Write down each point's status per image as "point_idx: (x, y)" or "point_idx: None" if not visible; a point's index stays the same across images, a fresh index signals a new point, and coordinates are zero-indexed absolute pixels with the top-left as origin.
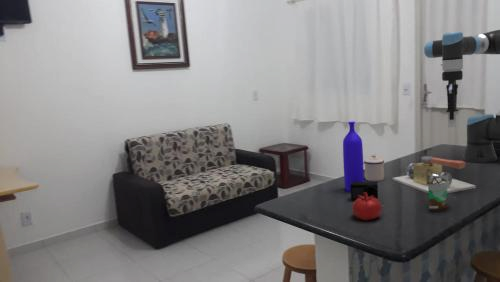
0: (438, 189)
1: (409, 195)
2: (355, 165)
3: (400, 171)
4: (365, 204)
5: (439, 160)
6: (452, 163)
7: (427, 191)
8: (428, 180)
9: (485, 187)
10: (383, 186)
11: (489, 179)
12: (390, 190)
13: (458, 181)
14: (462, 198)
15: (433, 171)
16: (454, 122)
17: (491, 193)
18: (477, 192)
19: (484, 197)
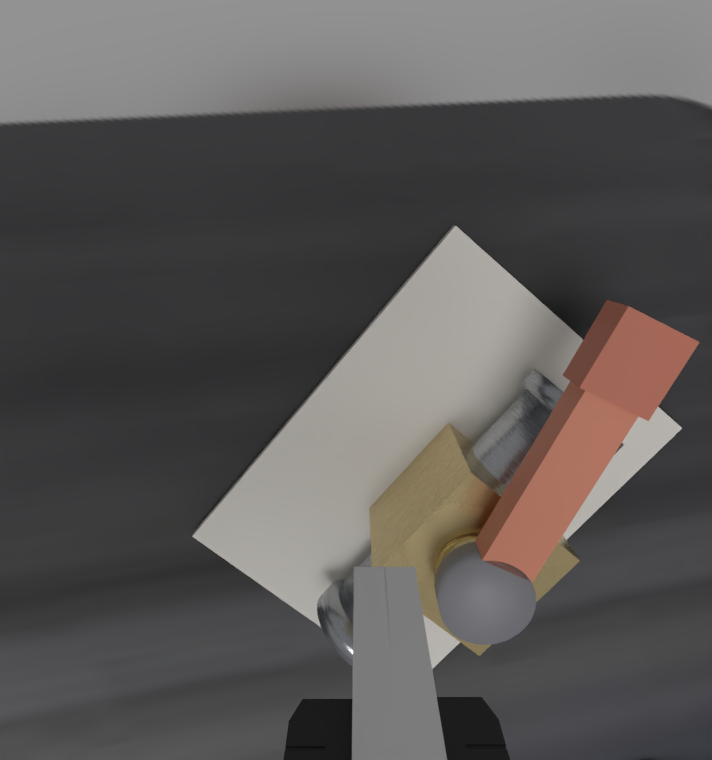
0: None
1: (690, 544)
2: None
3: (200, 681)
4: None
5: (580, 506)
6: (653, 399)
7: (631, 472)
8: None
9: (424, 167)
10: (549, 692)
11: (214, 154)
12: (617, 645)
13: (386, 336)
14: (693, 278)
15: None
16: (422, 637)
17: (553, 123)
18: (550, 206)
19: (648, 159)
